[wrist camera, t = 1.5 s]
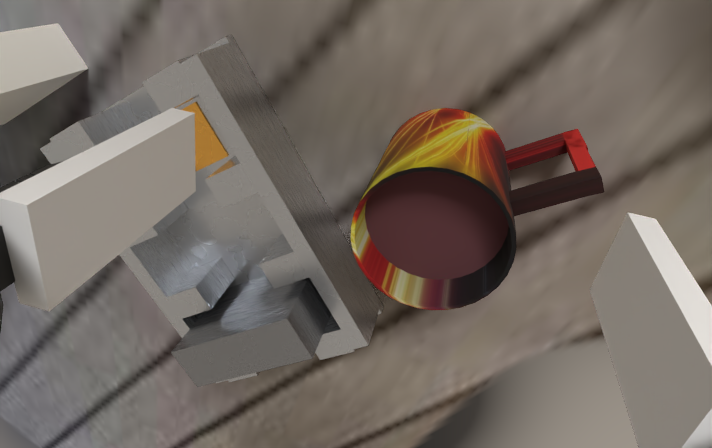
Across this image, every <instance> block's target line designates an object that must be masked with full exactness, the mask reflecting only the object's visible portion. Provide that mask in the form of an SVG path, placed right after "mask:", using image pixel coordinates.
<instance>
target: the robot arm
mask: <svg viewBox="0 0 712 448" xmlns="http://www.w3.org/2000/svg"><path fill="white" fill-rule="evenodd" d="M195 191H196V173H195V113H192V112H188V111H183V110H179V109H175V108H171V109H169V110H167V111H165V112H163V113H161V114H159V115H157V116H155V117H153V118H151V119H149V120H146V121H144V122H142V123H140V124H138V125H136V126H134V127H132V128H130V129H128V130H126V131H124V132H122V133H120V134H118V135H116V136H114V137H112V138H110V139H108V140H106V141H104V142H102V143H100V144H98V145H96V146H94V147H92V148H90V149H88V150H86V151H84V152H82V153H80V154H78V155H76V156H74V157H71V158H69V159H67V160H65V161H62V162H58V163H54V164H50V165H47V166H45V167H42V168H40V169H38V170H36V171H34V172H32V173H30V175H26V176H24V177H22V178H20V179H18V180H17V182H11V183H9V184H7V185H5V186H3V187H1V188H0V291H2V290H3V289H5V288H6V287H7V286H9V285H10V284H12V283H13V282H14V284H15V288H16V292H17V296H18V300H19V303H21V304H25V305H28V306H32V307H35V308H38V309H42V310H45V311H51V310H52V309H53V308H54V307H55V306H57V305H58V304H59V303H60V302H62V301H63V300H64V299H65V298H66V297H68V296H69V295H70V294H71V293H73V292H74V291H75V290H76V289H77V288H79V287H80V286H81V285H82V284H83V283H85V282H86V281H87V280H88V279H90V278H91V277H92V276H93V275H94V274H96V273H97V272H98V271H99V270H101V269H102V268H103V267H104V266H105V265H107V264H108V263H109V262H110V261H111V260H113V259H114V258H115V257H116V256H118V255H119V254H120V253H121V252H122V251H124V250H125V249H126V248H127V247H129V246H130V245H131V244H132V243H133V242H135V241H136V240H137V239H138V238H139V237H141V236H142V235H143V234H144V233H146V232H147V231H148V230H149V229H150V228H152V227H153V226H154V225H155V224H157V223H158V222H159V221H160V220H161V219H163V218H164V217H165V216H166V215H167V214H169V213H170V212H171V211H172V210H174V209H175V208H176V207H177V206H178V205H180V204H181V203H182V202H183V201H185V200H186V199H187V198H188V197H189V196H191V195H192V194H193V193H194V192H195ZM590 292H591V296H592V299H593V302H594V305H595V309H596V312H597V315H598V318H599V321H600V325H601V328H602V331H603V334H604V338H605V341H606V344H607V347H608V350H609V354H610V357H611V360H612V363H613V367H614V369H615V373H616V376H617V380H618V383H619V386H620V389H621V392H622V395H623V399H624V402H625V405H626V408H627V412H628V415H629V418H630V421H631V425H632V428H633V431H634V434H635V438H636V441H637V444H638V447H639V448H712V306H711V304H710V303H709V301H708V300H707V298H706V296H705V295H704V293H703V292H702V290H701V289H700V287H699V286H698V284H697V282H696V281H695V279H694V278H693V276H692V275H691V273H690V271H689V270H688V268H687V267H686V265H685V264H684V262H683V261H682V259H681V257H680V256H679V254H678V253H677V251H676V250H675V248H674V247H673V245H672V243H671V242H670V240H669V239H668V237H667V236H666V234H665V233H664V231H663V229H662V228H661V226H660V225H659V223H658V222H657V220H656V219H654V218H650V217H645V216H641V215H637V214H632V213H628V212H627V214H626V216H625V218H624V220H623V223H622V225H621V227H620V229H619V231H618V233H617V235H616V237H615V239H614V241H613V243H612V245H611V247H610V249H609V251H608V253H607V255H606V257H605V259H604V261H603V263H602V265H601V268H600V270H599V272H598V274H597V276H596V278H595V280H594V282H593V284H592V286H591V288H590ZM2 313H3V301H2V298H1V294H0V332H1V322H2Z"/></svg>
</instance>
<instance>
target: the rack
mask: <svg viewBox="0 0 712 448" xmlns="http://www.w3.org/2000/svg"><path fill="white" fill-rule="evenodd" d="M142 83H143V85H144V86H143V87H141V88H140V89H138V90H136V91H135V92H133V93H131V94H130V95H128V96H126V97H125V98H123V99H121V100H120V101H118V102H116V103H115V104H113V105H111V106H110V107H108V108H107V109H105V110H103V111H102V112H100V113H97V114H95V115H92V116H90V117H88V118H85V119H83V120H80V121H78V122H76V123H75V124H73V125H71V126H70V127H68V128H66V129H65V130H63V131H61V132H60V133H58V134H57V135H55V136H53V137H52V138H50V141H51V142H50V143H48V144H47V145H45V146H43V147H42V148H40V150H41V151H42V153H43V154H44V155H45V157H46V158H47V159H48V161H49V162H50V163H51V164H54V163H58V162H62V161H65V160H67V159H69V158H71V157H74V156H76V155H78V154H80V153H82V152H84V151H86V150H88V149H90V148H92V147H94V146H96V145H98V144H100V143H102V142H104V141H106V140H108V139H110V138H112V137H114V136H116V135H118V134H120V133H122V132H124V131H126V130H128V129H130V128H132V127H134V126H136V125H138V124H140V123H142V122H144V121H146V120H149V119H151V118H153V117H155V116H157V115H159V114H161V113H163V112H165V111H167V110H169V109H171V108H175V109H179V110H183V111H188V112H192V113H195V173H196V191H195V192H194V193H193V194H192V195H191V196H189V197H188V198H187V199H186V200H185V201H183V202H182V203H181V204H180V205H178V206H177V207H176V208H175V209H174V210H172V211H171V212H170V213H169V214H167V215H166V216H165V217H164V218H163V219H161V220H160V221H159V222H158V223H157V224H155V225H154V226H153V227H152V228H150V229H149V230H148V231H147V232H146V233H144V234H143V235H142V236H141V237H139V238H138V239H137V240H136V241H135V242H133V243H132V244H131V245H130V246H129V247H127V248H126V249H125V250H124V251H122V252H121V253H120V254H119V255H120V256H121V258H122V259H123V260H124V262H125V263H126V264H127V266H128V267H129V268H130V270H131V271H132V272H133V274H134V275H135V276H136V278H137V279H138V280H139V282H140V283H141V284H142V286H143V287H144V288H145V290H146V291H147V292H148V294H149V295H150V296H151V298H152V299H153V300H154V302H155V303H156V304H157V306H158V307H159V308H160V310H161V311H162V312H163V314H164V315H165V316H166V318H167V319H168V320H169V322H170V323H171V324H172V326H173V327H174V328H175V330H176V331H177V332H178V334H179V335H180V336H181V338H182V339H181V341H180V342H179V343H178V344H177V346H176V347H175V348H174V349H173V351H172V352H171V353H172V355H173V356H174V357H175V359H176V360H177V361H178V362H179V364H180V365H181V366H182V368H183V369H184V370H185V372H186V373H187V374H188V375H189V377H190V378H191V379H192V381H193V382H194V383H195V384H196V386H197V387H200V386H204V385H208V384H212V383H219V382H223V381H228V382H233V381H237V380H241V379H245V378H249V377H253V376H257V375H258V374H259V372H260V371H264V370H268V369H272V368H276V367H280V366H284V365H288V364H292V363H296V362H300V361H304V360H308V359H312V358H313V356H314V354H315V353H316V354H317V356H318V357H319V359H320V360H322V359H326V358H330V357H335V356H339V355H343V354H347V353H351V352H354V351H355V349H357V348H361V347H365V346H369V342H370V339H371V336H372V332H373V329H374V326H375V322H376V319H377V316H378V314H382V311H383V305H382V303H381V301H380V300H379V298H378V296H377V294H376V292H375V291H374V289H373V287H372V285H371V284H370V282H369V280H368V279H367V278H366V276H365V275H364V273H363V272H362V270H361V269H360V267H359V266H358V263H357V261H356V259H355V256H354V254H353V251H352V249H351V248H350V246H349V244H348V242H347V240H346V239H345V237H344V235H343V233H342V232H341V230H340V228H339V226H338V224H337V223H336V221H335V219H334V217H333V215H332V214H331V212H330V210H329V208H328V206H327V205H326V203H325V201H324V199H323V197H322V196H321V194H320V192H319V190H318V189H317V187H316V185H315V183H314V181H313V180H312V178H311V176H310V174H309V172H308V171H307V169H306V167H305V165H304V163H303V162H302V160H301V158H300V156H299V154H298V153H297V151H296V149H295V147H294V145H293V144H292V142H291V140H290V138H289V137H288V135H287V133H286V131H285V129H284V128H283V126H282V124H281V122H280V120H279V119H278V117H277V115H276V113H275V111H274V110H273V108H272V106H271V104H270V102H269V101H268V99H267V97H266V95H265V94H264V92H263V90H262V88H261V86H260V85H259V83H258V81H257V79H256V77H255V76H254V74H253V72H252V70H251V68H250V67H249V65H248V63H247V61H246V59H245V58H244V56H243V54H242V52H241V50H240V49H239V47H238V45H237V43H236V42H235V40H234V38H233V36H232V35H229V36H226V37H224V38H222V39H221V40H219V41H217V42H216V43H214V44H212V45H211V46H209V47H207V48H206V49H204V50H202V51H201V52H199V53H198V54H195V55H192V56H189V57H187V58H184V59H181V60H178V61H176V62H175V63H173V64H171V65H170V66H168V67H166V68H165V69H163V70H161V71H160V72H158V73H157V74H155V75H153V76H152V77H150V78H148V79H147V80H145V81H143V82H142Z"/></svg>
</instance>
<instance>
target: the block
mask: <svg viewBox="0 0 712 448" xmlns="http://www.w3.org/2000/svg"><path fill="white" fill-rule="evenodd" d="M87 69H88V67H87V66H86V64H85V63H84V61H83V60H82V58H81V57H80V55H79V54H78V52H77V51H76V49H75V48H74V46H73V45H72V43H71V42H70V40H69V39H68V37H67V36H66V34H65V33H64V31H63V30H62V28H61V27H60V26H59V24H58V23H56V24H50V25H44V26H38V27H31V28H25V29H19V30H12V31H6V32H0V125H3V124H6V123H7V122H9V121H10V120H12V119H13V118H15V117H16V116H18V115H19V114H21V113H22V112H24V111H25V110H27V109H28V108H30V107H31V106H33V105H34V104H36V103H37V102H39V101H40V100H42V99H43V98H45V97H46V96H48V95H49V94H51V93H52V92H54V91H55V90H57V89H58V88H60V87H61V86H63V85H64V84H66V83H67V82H69V81H70V80H72V79H73V78H75V77H76V76H78V75H79V74H81V73H82V72H84V71H85V70H87Z"/></svg>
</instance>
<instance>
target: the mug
mask: <svg viewBox="0 0 712 448" xmlns="http://www.w3.org/2000/svg"><path fill="white" fill-rule="evenodd" d="M567 152H568V154H569V157H570V159H571V161H572V164H573V166H574V168H575V171H576V172H573V173H569V174H566V175H563V176H559V177H556V178H552V179H549V180H546V181H542V182H539V183H535V184H532V185H529V186H525V187H522V188H518V189H515V190H512V191H511V186H510V177H509V170H513V169H516V168H519V167H522V166H525V165H529V164H532V163H535V162H538V161H542V160H545V159H548V158H551V157H554V156H558V155H561V154H564V153H567ZM603 192H604V188H603V183H602V178H601V175H600V173H599V172H598V170H597V168H596V166H595V164H594V162H593V160H592V158H591V156H590V154H589V153H588V148H587V145H586V143H585V141H584V139H583V138H582V136H581V134H580V132H579V130H578V129H575V130H571V131H567V132H564V133H561V134H558V135H555V136H551V137H548V138H545V139H542V140H539V141H536V142H533V143H530V144H527V145H524V146H521V147H518V148H515V149H511V150H508V151H505V147H504V145H503V143H502V141H501V139H500V137H499V135H498V134H497V133H496V132H495V130H494V129H493V128H492V127H491V126H490V125H489V124H488V123H486V122H485V121H484V120H483V119H481V118H479V117H477V116H476V115H474V114H472V113H469V112H466V111H462V110H459V109H449V108H442V109H433V110H429V111H426V112H423V113H420V114H418V115H416V116H415V117H413V118H411V119H409V120H408V121H407V122H406V123H404V124H403V125H402V126H401V127H400V128H399V129H398V131H397V132H396V133H395V134H394V136H393V137H392V139H391V141H390V143H389V145H388V147H387V149H386V151H385V153H384V155H383V157H382V159H381V161H380V163H379V165H378V167H377V169H376V171H375V173H374V175H373V177H372V179H371V181H370V183H369V185H368V187H367V189H366V191H365V193H364V195H363V197H362V199H361V201H360V203H359V205H358V207H357V208H356V210H355V212H354V216H353V220H352V224H351V244H352V249H353V254H354V256H355V259H356V261H357V263H358V266H359V267H360V269H361V270H362V272H363V273H364V275H365V276H366V278H367V279H368V280H369V281H370V282H371V283H372V284H373V285H374V286H375V287H376V288H377V289H379V290H380V291H382V292H383V293H384V294H386V295H387V296H389V297H390V298H392V299H394V300H396V301H398V302H400V303H403V304H406V305H409V306H412V307H415V308H421V309H428V310H449V309H455V308H461V307H464V306H467V305H469V304H472V303H475V302H477V301H479V300H480V299H482V298H484V297H486V296H488V295H489V294H490V293H491V292H492V291H493V290H495V289H496V288H497V287H498V286H499V285H500V284H501V282H502V281H503V280H504V279H505V277H506V276H507V275H508V272H509V270H510V268H511V266H512V264H513V262H514V257H515V252H516V230H515V221H514V216H516V215H520V214H524V213H527V212H531V211H535V210H538V209H542V208H546V207H549V206H553V205H556V204H560V203H564V202H567V201H571V200H575V199H578V198H582V197H586V196H590V195H594V194H599V193H603Z"/></svg>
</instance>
